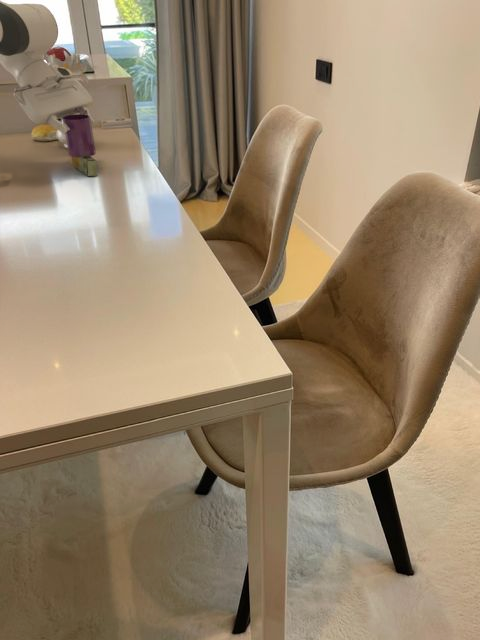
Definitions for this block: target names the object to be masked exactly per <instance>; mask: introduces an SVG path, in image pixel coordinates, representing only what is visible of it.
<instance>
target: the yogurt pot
mask: <svg viewBox="0 0 480 640" xmlns="http://www.w3.org/2000/svg"><path fill="white" fill-rule="evenodd" d="M90 116H91V115H90ZM90 116H89V115H84V114H80V113H77V114H76V115H68V116H65V117H62V118H61V120H62V119H63V124H66V125H67V126H68V127H69V128H70V131H69V132H68V133H67V134H65V135H66V140H67V146H68V148H67V150H68V155H69V157H71V158H72V157H89V156H91V157H93V156H95V155H96V154H97V150H96V144H95V138H94V132H93V127H92V126H93V125H91V119H90Z"/></svg>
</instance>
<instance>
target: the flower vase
mask: <svg viewBox="0 0 480 640" xmlns="http://www.w3.org/2000/svg"><path fill="white" fill-rule="evenodd" d="M63 55H64V56H65V59H64V61H62V60H61V59H60V58H57V57H56V54H55V53H53V54H48V52H47V53H46V54H45V55H44V56H43V58H44V60H45V61H46V62H47V63H48V65H53V66H56V67H60V68H66V69H69V70H70V71H71V72H72V74H73V76H72V78H74V79H75V77H74V76H78V78H79V79H80V80H81V82H82V83H84V81H85V82H86V83H87V84H89V83H90V81H89V78H88V76H87V75H86V72H87V70H88V67H87V64H85V63H82V64H81V62H82V61H81V56H80V54H79V53H77V54H76V53H72V54H71V55H70V54H69V53H68V52H67V51H66V50H63ZM74 115H77V114H74ZM61 123H63V119H62V118H61ZM56 136H57V138H58V141H59V142H60V143H61V144H62V145H63V147H64V148H65V149H68V146H67V140H66V135H65V134H62V133H61V132H60V131H59V130H58V129H57V134H56Z"/></svg>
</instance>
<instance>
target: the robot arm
mask: <svg viewBox="0 0 480 640" xmlns="http://www.w3.org/2000/svg"><path fill="white" fill-rule="evenodd" d="M58 36H59V28H58V22H57V20H56V18H55V16H54V14H53V13H52V12H51V10H50V9H49V8H48V7H47V6H45V5H43V4H40V3H7V2H4V1H2V0H0V65H1V66H2V67H3V69H5V70H6V72H8V73H9V74H11V75H12V76H13V77H14V79H15V81H16V83H17V85H18V87H15V88H14V90H13V96H14V98H15V99H16V100H17V101H18V103H19V104H18V105H19V106H20V108H21V109H22V110H23V113H25V115H26V116H27V117H28V119H29V120H30V122H32V123H34V124H35V125H37V126H40V125H43V124H46V123H47V124H48V125H49V126H53V127H54V128H56V129H58V130H59V131H60V132H61V133H62V134H67V133H68V132H69V131H70V128H69V127H68V126H67V125H66V124H63V123H62V121H60V120H59V119H62V117H65V116H68V115H74V114H76V115H77V114H84V115H89V116H90V119H91V125H92V126H93V125H94V124H95V119H94V118H93V117H92V116H91V113H90V108H91V107H92V106H93V104H94V101H93V97H92V96H91V94H90V93H89V91H88V90H87V89H86V88H85V86H84V85H82V83H81V82H80V81H79V80H78V79H76V78H75V77H74V75H73V74H72V72H71V71H70V70H69V69H66V68H60V67H56V66H53V65H48V63H47V62H46V61H45V60H44V55H45V54H46V53H47V54H48V52H49V51H50V50H51V49H52V48H53V47H54V45H55V44H56V42H57V40H58V38H59V37H58ZM72 76H73V77H74V78H72Z"/></svg>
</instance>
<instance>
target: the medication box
mask: <svg viewBox="0 0 480 640" xmlns="http://www.w3.org/2000/svg"><path fill="white" fill-rule="evenodd" d="M71 165H72V166H74V167H75V169H76V170H78V171H80V172H81V173H82V174H84V175H85V176H86V177H97V176H98V161H97V160H96V158H93V156H89V157H71Z"/></svg>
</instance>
